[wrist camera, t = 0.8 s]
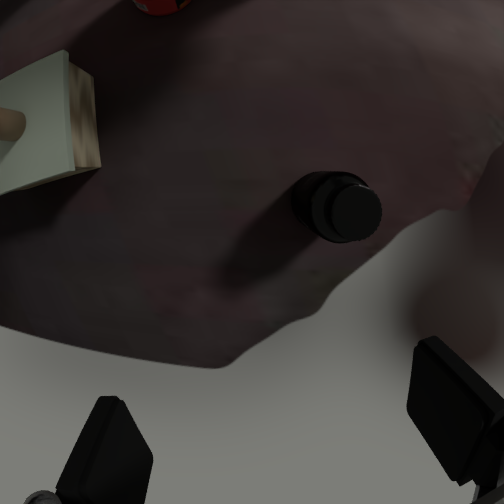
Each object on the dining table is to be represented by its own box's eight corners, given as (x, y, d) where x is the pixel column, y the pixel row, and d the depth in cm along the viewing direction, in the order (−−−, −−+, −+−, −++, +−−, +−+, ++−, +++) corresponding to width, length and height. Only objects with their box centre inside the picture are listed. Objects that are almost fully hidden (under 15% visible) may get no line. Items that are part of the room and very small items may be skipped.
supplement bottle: (292, 231, 37) (319, 257, 26) (287, 173, 36) (313, 173, 24) (347, 226, 37) (393, 248, 26) (343, 169, 36) (390, 169, 24)
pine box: (21, 106, 31) (-14, 97, 23) (93, 77, 31) (64, 58, 23) (27, 189, 34) (-9, 194, 26) (101, 167, 34) (70, 166, 26)
